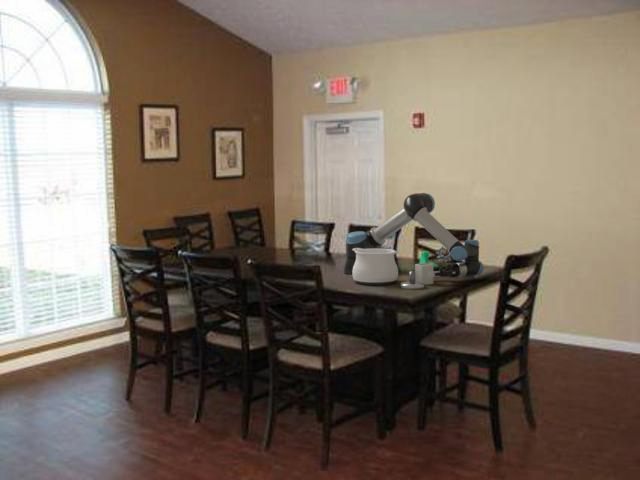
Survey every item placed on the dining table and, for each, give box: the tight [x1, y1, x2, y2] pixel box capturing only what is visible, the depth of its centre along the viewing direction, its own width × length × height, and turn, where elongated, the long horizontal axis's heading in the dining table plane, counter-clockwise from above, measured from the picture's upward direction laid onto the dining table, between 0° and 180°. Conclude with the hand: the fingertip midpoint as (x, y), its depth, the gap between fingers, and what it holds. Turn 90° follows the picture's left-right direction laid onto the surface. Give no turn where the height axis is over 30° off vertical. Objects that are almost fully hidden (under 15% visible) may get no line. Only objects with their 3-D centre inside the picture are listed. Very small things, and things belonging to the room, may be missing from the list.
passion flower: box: [435, 245, 455, 264], centre depth 458 cm, size 11×11×12 cm
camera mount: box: [418, 250, 439, 267], centre depth 433 cm, size 12×8×10 cm, turn 12°
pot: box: [351, 248, 400, 286], centre depth 384 cm, size 28×24×17 cm
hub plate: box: [400, 270, 425, 290], centre depth 368 cm, size 12×12×8 cm
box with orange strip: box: [414, 262, 434, 286], centre depth 379 cm, size 7×7×11 cm
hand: (421, 272), depth 378 cm, fingers open, 13 cm apart
